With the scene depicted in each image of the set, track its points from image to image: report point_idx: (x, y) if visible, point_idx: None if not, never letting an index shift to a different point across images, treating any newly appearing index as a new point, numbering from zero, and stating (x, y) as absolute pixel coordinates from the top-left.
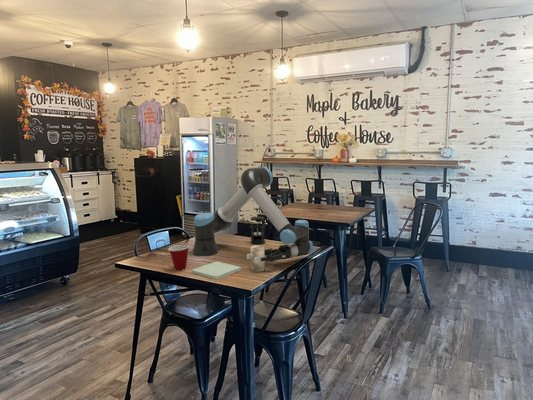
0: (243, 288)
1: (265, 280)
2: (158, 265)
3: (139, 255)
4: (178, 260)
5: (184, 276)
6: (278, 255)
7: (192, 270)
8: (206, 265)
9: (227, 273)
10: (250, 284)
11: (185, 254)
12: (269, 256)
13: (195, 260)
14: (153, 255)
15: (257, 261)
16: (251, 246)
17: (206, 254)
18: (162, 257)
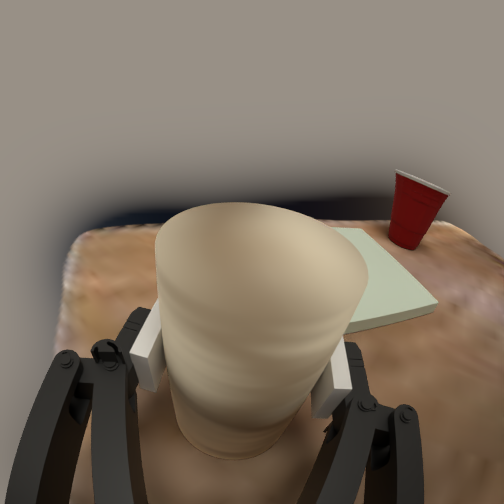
0: (108, 229)
1: (65, 302)
2: (435, 236)
3: (493, 251)
4: (393, 203)
5: (334, 221)
6: (17, 456)
7: (355, 228)
8: (394, 263)
9: None
10: (104, 253)
11: (404, 196)
12: (95, 381)
13: (472, 290)
14: (497, 261)
15: None
16: (331, 231)
17: None
18: (488, 263)
